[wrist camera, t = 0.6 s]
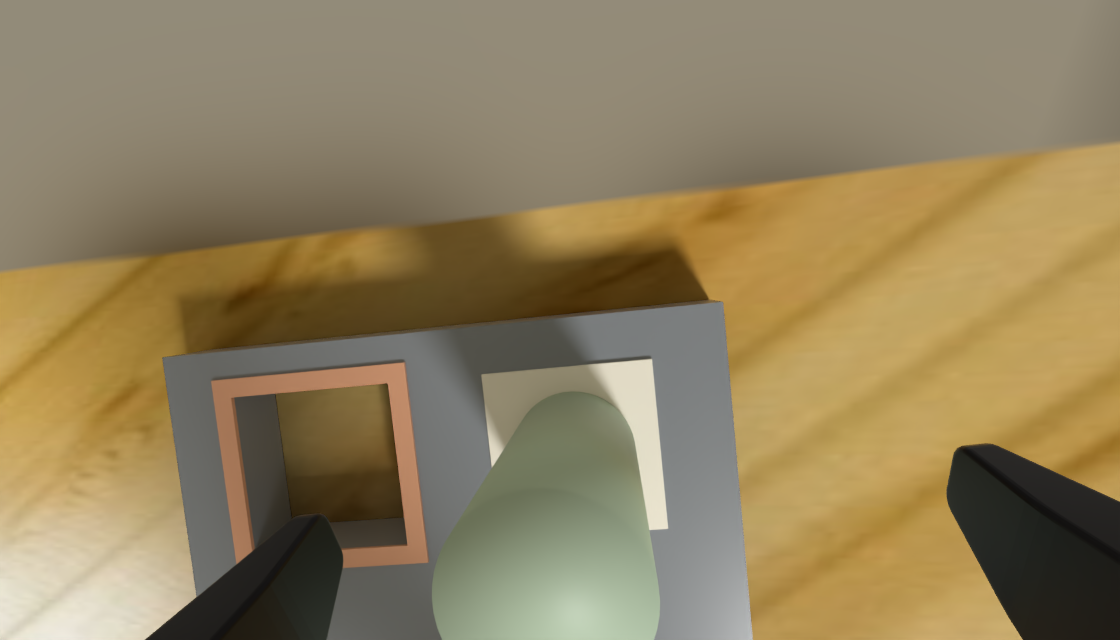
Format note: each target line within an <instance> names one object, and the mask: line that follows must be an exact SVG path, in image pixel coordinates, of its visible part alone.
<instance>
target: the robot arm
mask: <svg viewBox="0 0 1120 640" xmlns="http://www.w3.org/2000/svg"><path fill="white" fill-rule="evenodd" d="M947 501H948V505H949V507H950V510H951V512H952V514H953V515H954V517H955V519H956V521H957V523H958V525H959V527H960V529H961V530H962V532H963V534H964V536H965V538H966V540H967V542H968V543H969V545H970V547H971V549H972V551H973V553H974V555H975V557H976V558H977V560H978V562H979V564H980V566H981V568H982V570H983V572H984V573H985V575H986V577H987V579H988V581H989V583H990V585H991V586H992V588H993V590H994V592H995V594H996V596H997V598H998V599H999V601H1000V603H1001V605H1002V606H1003V608H1004V610H1005V612H1006V613H1007V615H1008V617H1009V619H1010V620H1011V622H1012V623H1013V625H1014V626H1015V628H1016V630H1017V631H1018V633H1019V634H1020V636H1021V637H1022V639H1023V640H1120V502H1119V501H1117V500H1115V499H1113V498H1110V497H1108V496H1106V495H1104V494H1102V493H1100V492H1097V491H1095V490H1093V489H1091V488H1089V487H1086V486H1084V485H1082V484H1080V483H1078V482H1076V481H1073V480H1071V479H1069V478H1067V477H1065V476H1062V475H1060V474H1058V473H1056V472H1054V471H1051V470H1049V469H1047V468H1045V467H1043V466H1041V465H1038V464H1036V463H1034V462H1032V461H1030V460H1027V459H1025V458H1023V457H1021V456H1019V455H1017V454H1014V453H1012V452H1010V451H1008V450H1006V449H1003V448H1001V447H999V446H996V445H994V444H987V443H985V444H975V445H965V446H961V447H958V448H957V449H956V451H955V452H954V455H953V459H952V465H951V470H950V475H949V480H948V485H947ZM342 570H343V553H342V549H341V547H340V545H339V543H338V540H337V538H336V536H335V534H334V532H333V529H332V527H331V525H330V523H329V521H328V519H327V517H326V516H325V515H323V514H320V513H315V514H306V515H299V516H295V517H293V518H292V519H291V520H289V521H288V522H287V523H286V524H284V525H283V526H282V527H281V528H280V529H278V530H277V531H276V532H275V533H274V534H272V535H271V536H270V537H269V538H267V539H266V540H265V541H264V542H263V543H261V544H260V545H259V546H258V547H257V548H255V549H254V550H253V551H252V552H251V553H249V554H248V555H247V556H246V557H245V558H243V559H242V560H241V561H240V562H238V563H237V564H236V565H235V566H234V567H232V568H231V569H230V570H229V571H228V572H226V573H225V574H224V575H223V576H222V577H220V578H219V579H218V580H217V581H215V582H214V583H213V584H212V585H211V586H209V587H208V588H207V589H206V590H205V591H203V592H202V593H201V594H200V595H199V596H197V597H196V598H195V599H194V600H192V601H191V602H190V603H189V604H188V605H186V606H185V607H184V608H183V609H182V610H180V611H179V612H178V613H177V614H176V615H174V616H173V617H172V618H171V619H169V620H168V621H167V622H166V623H165V624H163V625H162V626H161V627H160V628H159V629H157V630H156V631H155V632H154V633H153V634H151V635H150V636H149V637H148V638H146V639H145V640H327V637H328V632H329V628H330V623H331V619H332V614H333V610H334V605H335V601H336V597H337V592H338V588H339V583H340V579H341V574H342Z"/></svg>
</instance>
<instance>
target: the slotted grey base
mask: <svg viewBox="0 0 1120 640" xmlns="http://www.w3.org/2000/svg"><path fill="white" fill-rule="evenodd" d="M162 359H163V366H164V373H165V380H166V387H167V393H168V400H169V407H170V414H171V421H172V428H173V435H174V442H175V449H176V456H177V463H178V470H179V477H180V484H181V491H182V498H183V505H184V512H185V519H186V526H187V533H188V540H189V547H190V554H191V561H192V567H193V574H194V581H195V588H196V595H197V596H199V595H200V594H201V593H202V592H203V591H205V590H206V589H207V588H208V587H209V586H211V585H212V584H213V583H214V582H215V581H217V580H218V579H219V578H220V577H222V576H223V575H224V574H225V573H226V572H228V571H229V570H230V569H231V568H232V567H234V566H235V565H236V564H237V563H238V562H240V561H241V560H242V559H243V558H245V557H246V556H247V555H248V554H249V553H251V552H252V551H253V550H254V549H255V548H257V547H258V546H259V545H260V544H261V543H263V542H264V541H265V540H266V539H267V538H269V537H270V536H271V535H272V534H274V533H275V532H276V531H277V530H278V529H280V528H281V527H282V526H283V525H284V524H286V523H287V522H288V521H289V520H291V519H292V517H291V510H290V502H289V495H288V487H287V480H286V472H285V465H284V457H283V450H282V442H281V435H280V427H279V420H278V412H277V404H276V397H275V394H276V393H287V392H298V391H309V390H320V389H331V388H342V387H353V386H364V385H375V384H386V383H388V389H389V397H390V405H391V413H392V422H393V430H394V438H395V446H396V454H397V463H398V471H399V479H400V487H401V496H402V504H403V512H404V517H403V518H388V519H374V520H359V521H345V522H330V525H331V527H332V529H333V532H334V534H335V536H336V538H337V540H338V543H339V545H340V547H341V549H342V553H343V570H342V574H341V579H340V583H339V588H338V592H337V597H336V601H335V605H334V610H333V614H332V619H331V623H330V628H329V632H328V637H327V640H442V638H441V636H440V633H439V631H438V628H437V625H436V621H435V617H434V613H433V605H432V582H433V575H434V569H435V566H436V562H437V559H438V556H439V554H440V551H441V549H442V547H443V545H444V543H445V541H446V540H447V538H448V536H449V535H450V533H451V532H452V530H453V528H454V527H455V525H456V524H457V522H458V521H459V519H460V517H461V516H462V514H463V513H464V511H465V510H466V508H467V506H468V505H469V503H470V502H471V500H472V499H473V497H474V495H475V494H476V492H477V491H478V489H479V487H480V486H481V484H482V483H483V481H484V480H485V478H486V476H487V475H488V473H489V472H490V470H491V469H492V467H493V465H494V464H495V462H496V461H497V459H498V458H499V456H500V454H501V453H502V451H503V450H504V448H505V447H506V445H507V443H508V442H509V440H510V439H511V437H512V436H513V434H514V432H515V431H516V429H517V428H518V426H519V424H520V423H521V421H522V420H523V418H524V417H525V415H526V414H527V413H528V412H529V410H530V409H531V408H533V407H534V406H535V405H536V404H537V403H539V402H540V401H541V400H543V399H545V398H547V397H549V396H552V395H554V394H558V393H562V392H571V391H575V392H585V393H589V394H593V395H596V396H598V397H600V398H602V399H604V400H606V401H607V402H609V403H610V404H612V405H613V406H614V407H615V408H616V409H617V410H618V411H619V412H620V413H621V414H622V415H623V417H624V418H625V419H626V421H627V423H628V424H629V426H630V428H631V431H632V433H633V437H634V441H635V446H636V452H637V458H638V464H639V470H640V476H641V482H642V488H643V494H644V501H645V507H646V513H647V519H648V525H649V531H650V537H651V543H652V549H653V555H654V561H655V567H656V573H657V579H658V585H659V595H660V616H659V622H658V628H657V632H656V635H655V638H654V640H753V637H752V626H751V614H750V603H749V592H748V580H747V569H746V557H745V546H744V535H743V523H742V512H741V501H740V489H739V478H738V467H737V455H736V444H735V433H734V421H733V410H732V399H731V387H730V376H729V365H728V353H727V342H726V331H725V319H724V308H723V302H721V301H715V300H701V301H691V302H681V303H671V304H661V305H651V306H641V307H631V308H621V309H611V310H601V311H591V312H581V313H571V314H562V315H552V316H542V317H532V318H522V319H512V320H502V321H492V322H482V323H472V324H462V325H452V326H442V327H432V328H422V329H412V330H402V331H392V332H382V333H372V334H362V335H352V336H342V337H332V338H322V339H312V340H302V341H292V342H282V343H272V344H262V345H252V346H242V347H232V348H222V349H212V350H205V351H199V352H193V353H187V354H181V355H175V356H169V357H163V358H162Z"/></svg>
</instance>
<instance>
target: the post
mask: <svg viewBox="0 0 1120 640" xmlns="http://www.w3.org/2000/svg"><path fill="white" fill-rule="evenodd" d="M432 605H433V613H434V617H435V621H436V625H437V628H438V631H439V633H440V636H441V638H442V640H654V638H655V635H656V632H657V628H658V622H659V616H660V595H659V585H658V579H657V573H656V567H655V561H654V555H653V549H652V543H651V537H650V531H649V525H648V519H647V513H646V507H645V501H644V494H643V488H642V482H641V476H640V470H639V464H638V458H637V452H636V446H635V441H634V437H633V433H632V431H631V428H630V426H629V424H628V423H627V421H626V419H625V418H624V417H623V415H622V414H621V413H620V412H619V411H618V410H617V409H616V408H615V407H614V406H613V405H612V404H610V403H609V402H607V401H606V400H604V399H602V398H600V397H598V396H596V395H593V394H589V393H585V392H575V391H571V392H562V393H558V394H554V395H552V396H549V397H547V398H545V399H543V400H541V401H540V402H539V403H537V404H536V405H535V406H534V407H533V408H531V409H530V410H529V412H528V413H527V414H526V415H525V417H524V418H523V420H522V421H521V423H520V424H519V426H518V428H517V429H516V431H515V432H514V434H513V436H512V437H511V439H510V440H509V442H508V443H507V445H506V447H505V448H504V450H503V451H502V453H501V454H500V456H499V458H498V459H497V461H496V462H495V464H494V465H493V467H492V469H491V470H490V472H489V473H488V475H487V476H486V478H485V480H484V481H483V483H482V484H481V486H480V487H479V489H478V491H477V492H476V494H475V495H474V497H473V499H472V500H471V502H470V503H469V505H468V506H467V508H466V510H465V511H464V513H463V514H462V516H461V517H460V519H459V521H458V522H457V524H456V525H455V527H454V528H453V530H452V532H451V533H450V535H449V536H448V538H447V540H446V541H445V543H444V545H443V547H442V549H441V551H440V554H439V556H438V559H437V562H436V566H435V569H434V575H433V582H432Z"/></svg>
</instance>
